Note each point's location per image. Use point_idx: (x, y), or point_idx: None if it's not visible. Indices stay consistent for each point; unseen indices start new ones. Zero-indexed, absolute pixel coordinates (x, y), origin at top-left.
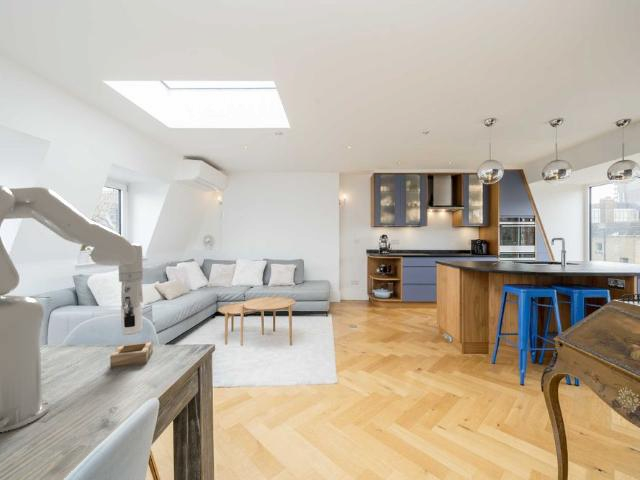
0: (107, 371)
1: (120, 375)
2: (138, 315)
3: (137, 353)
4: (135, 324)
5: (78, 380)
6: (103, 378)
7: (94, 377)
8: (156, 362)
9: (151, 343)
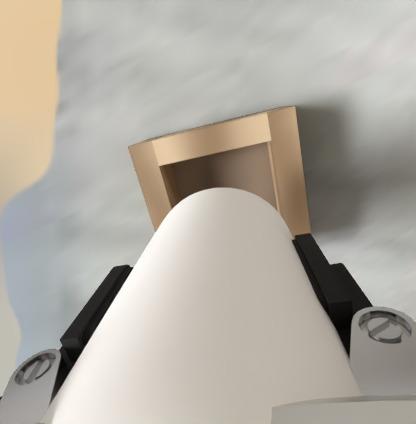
0: (320, 237)
1: (379, 167)
2: (270, 265)
3: (300, 149)
4: (287, 236)
5: (371, 294)
6: (385, 220)
7: (363, 256)
8: (276, 59)
9: (152, 140)
